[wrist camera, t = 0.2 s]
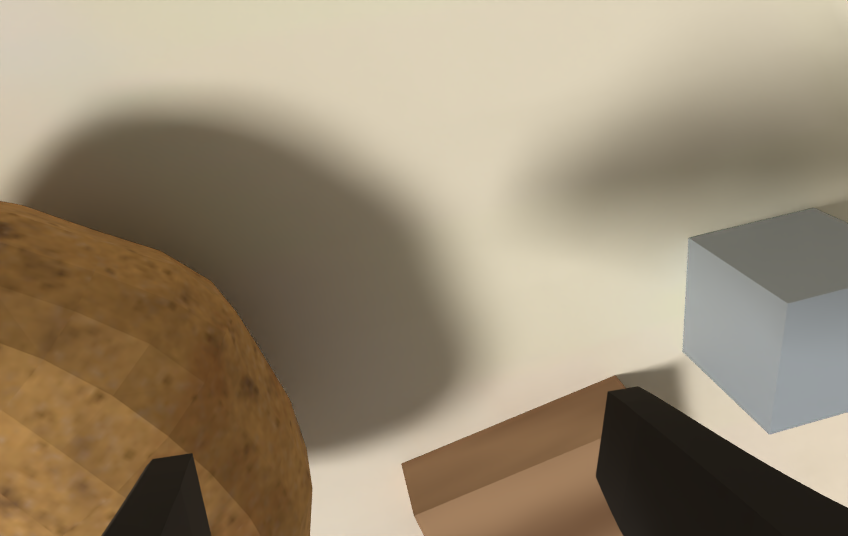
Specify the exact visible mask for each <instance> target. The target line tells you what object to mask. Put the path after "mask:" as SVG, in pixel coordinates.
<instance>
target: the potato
mask: <svg viewBox="0 0 848 536" xmlns="http://www.w3.org/2000/svg"><path fill="white" fill-rule="evenodd" d="M190 453H193V457H194V462H195V466H196V471H197V475H198V479H199V484H200V488H201V492H202V497H203V501H204V505H205V510H206V514H207V518H208V523H209V527H210V532H211V536H310V523H311V504H312V482H311V476H310V469H309V462H308V456H307V449H306V446H305V443H304V440H303V437H302V434H301V431H300V428H299V425H298V422H297V419H296V416H295V414H294V411H293V408H292V405H291V402H290V399H289V397H288V396H287V394H286V393H285V391H284V389H283V388H282V386H281V384H280V383H279V381H278V379H277V378H276V376H275V374H274V373H273V371H272V369H271V368H270V366H269V364H268V363H267V361H266V359H265V358H264V356H263V354H262V353H261V351H260V349H259V348H258V346H257V344H256V343H255V341H254V340H253V338H252V336H251V335H250V333H249V332H248V330H247V328H246V327H245V325H244V324H243V322H242V320H241V319H240V317H239V316H238V314H237V312H236V311H235V310H234V308H233V307H232V306H231V305H230V304H229V302H228V301H227V300H226V299H225V298H224V296H223V295H222V294H221V293H220V291H219V290H218V289H217V288H216V287H215V285H214V284H213V283H212V282H211V281H210V280H208V279H207V278H205V277H203V276H202V275H200V274H198V273H197V272H195V271H193V270H192V269H190V268H188V267H187V266H185V265H183V264H182V263H180V262H178V261H177V260H175V259H173V258H172V257H170V256H168V255H167V254H165V253H163V252H162V251H159V250H156V249H153V248H150V247H147V246H143V245H140V244H137V243H134V242H131V241H128V240H124V239H121V238H118V237H115V236H112V235H109V234H105V233H102V232H99V231H96V230H93V229H90V228H87V227H84V226H81V225H78V224H75V223H72V222H70V221H67V220H64V219H61V218H58V217H55V216H52V215H49V214H46V213H43V212H41V211H38V210H35V209H32V208H29V207H26V206H23V205H18V204H13V203H8V202H2V201H0V536H101V535H102V534H103V532H104V531H105V529H106V528H107V526H108V525H109V523H110V522H111V520H112V519H113V517H114V516H115V514H116V513H117V511H118V510H119V508H120V507H121V505H122V504H123V502H124V501H125V499H126V497H127V496H128V494H129V493H130V491H131V490H132V488H133V486H134V485H135V483H136V482H137V480H138V479H139V477H140V475H141V474H142V472H143V471H144V469H145V467H146V466H147V465H148V464H149V462H150V461H151V460H152V459H156V458H163V457H170V456H176V455H183V454H190Z"/></svg>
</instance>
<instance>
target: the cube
mask: <svg viewBox="0 0 848 536" xmlns="http://www.w3.org/2000/svg"><path fill="white" fill-rule="evenodd" d="M683 353H684V354H686V355H687V356H688V357H689V358H690V359H691V360H692V361H693V362H694V363H695V364H696V365H697V366H698V367H699V368H700V369H701V370H702V371H703V372H704V373H705V374H706V375H708V376H709V377H710V378H711V379H712V380H713V381H714V382H715V383H716V384H717V385H718V386H719V387H720V388H721V389H722V390H723V391H724V392H725V393H726V394H727V395H728V396H730V397H731V398H732V399H733V400H734V401H735V402H736V403H737V404H738V405H739V406H740V407H741V408H742V409H743V410H744V411H745V412H746V413H747V414H748V415H749V416H750V417H752V418H753V419H754V420H755V421H756V422H757V423H758V424H759V425H760V426H761V427H762V428H763V429H764V430H765V431H766V432H767V433H768V434H773V433H776V432H780V431H783V430H787V429H790V428H794V427H797V426H801V425H804V424H808V423H811V422H815V421H818V420H822V419H826V418H829V417H833V416H836V415H840V414H843V413H847V412H848V223H846V222H844V221H842V220H840V219H838V218H835V217H833V216H831V215H829V214H827V213H824V212H822V211H820V210H818V209H815V208H811V209H807V210H803V211H798V212H794V213H790V214H786V215H782V216H778V217H773V218H769V219H765V220H761V221H757V222H752V223H748V224H744V225H740V226H736V227H732V228H727V229H723V230H719V231H715V232H711V233H706V234H702V235H698V236H694V237H690V238H689V240H688V259H687V278H686V297H685V316H684V335H683Z"/></svg>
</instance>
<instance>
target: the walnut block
mask: <svg viewBox="0 0 848 536" xmlns="http://www.w3.org/2000/svg"><path fill="white" fill-rule="evenodd" d="M619 389H626V388H625V387H624V385H623V384H622V383H621V382H620V380H619V379H618V378H617V377H616V375H615V376H612V377H610V378H607V379H605V380H603V381H600V382H598V383H595V384H593V385H590V386H588V387H586V388H583V389H581V390H578V391H576V392H574V393H571V394H569V395H566V396H564V397H562V398H559V399H557V400H554V401H552V402H549V403H547V404H545V405H542V406H540V407H537V408H535V409H533V410H530V411H528V412H525V413H523V414H520V415H518V416H516V417H513V418H511V419H508V420H506V421H504V422H501V423H499V424H496V425H494V426H491V427H489V428H487V429H484V430H482V431H479V432H477V433H475V434H472V435H470V436H467V437H465V438H462V439H460V440H458V441H455V442H453V443H450V444H448V445H446V446H443V447H441V448H438V449H436V450H433V451H431V452H429V453H426V454H424V455H421V456H419V457H417V458H414V459H412V460H409V461H407V462H405V463H402V468H403V473H404V477H405V481H406V485H407V489H408V493H409V497H410V501H411V505H412V509H413V514H414V517H415V519H416V521H417V523H418V525H419V527H420V529H421V531H422V533H423V534H424V536H623V534H622V533H621V531H620V529H619V527H618V525H617V523H616V521H615V519H614V517H613V515H612V513H611V510H610V508H609V506H608V504H607V502H606V499H605V497H604V495H603V493H602V490H601V488H600V486H599V483H598V481H597V479H596V470H597V463H598V456H599V449H600V442H601V435H602V428H603V421H604V414H605V407H606V400H607V393H608V391H613V390H619Z"/></svg>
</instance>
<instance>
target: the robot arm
mask: <svg viewBox="0 0 848 536" xmlns="http://www.w3.org/2000/svg"><path fill="white" fill-rule="evenodd" d="M596 479H597V481H598V483H599V486H600V488H601V490H602V493H603V495H604V497H605V499H606V502H607V504H608V506H609V508H610V510H611V513H612V515H613V517H614V519H615V521H616V523H617V525H618V527H619V529H620V531H621V533H622V534H623V536H848V508H847V507H845V506H843V505H841V504H839V503H837V502H835V501H833V500H831V499H829V498H827V497H825V496H823V495H822V494H820V493H818V492H816V491H814V490H812V489H811V488H809V487H807V486H805V485H803V484H801V483H800V482H798V481H796V480H794V479H792V478H790V477H789V476H787V475H785V474H783V473H781V472H780V471H778V470H776V469H774V468H773V467H771V466H769V465H767V464H766V463H764V462H762V461H760V460H759V459H757V458H755V457H754V456H752V455H750V454H749V453H747V452H745V451H744V450H742V449H740V448H739V447H737V446H735V445H734V444H732V443H730V442H729V441H727V440H725V439H724V438H722V437H721V436H719V435H717V434H716V433H714V432H712V431H711V430H709V429H708V428H706V427H704V426H703V425H701V424H700V423H698V422H696V421H695V420H693V419H692V418H690V417H688V416H687V415H685V414H684V413H682V412H680V411H679V410H677V409H676V408H674V407H672V406H671V405H669V404H668V403H666V402H664V401H663V400H661V399H659V398H658V397H656V396H654V395H653V394H651V393H649V392H647V391H646V390H644V389H642V388H640V387H633V388H626V389H619V390H613V391H608V393H607V400H606V407H605V414H604V421H603V428H602V435H601V442H600V449H599V456H598V463H597V470H596ZM101 536H211V532H210V527H209V523H208V518H207V514H206V510H205V505H204V501H203V497H202V492H201V488H200V484H199V479H198V475H197V471H196V466H195V462H194V457H193V453H190V454H183V455H176V456H170V457H163V458H156V459H152V460H151V461H150V462H149V464H148V465H147V466H146V467H145V469H144V471H143V472H142V474H141V475H140V477H139V479H138V480H137V482H136V483H135V485H134V486H133V488H132V490H131V491H130V493H129V494H128V496H127V497H126V499H125V501H124V502H123V504H122V505H121V507H120V508H119V510H118V511H117V513H116V514H115V516H114V517H113V519H112V520H111V522H110V523H109V525H108V526H107V528H106V529H105V531H104V532H103V534H102V535H101Z"/></svg>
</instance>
